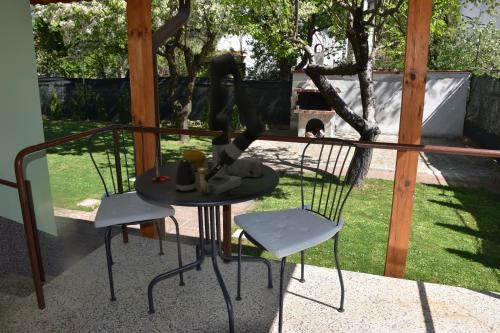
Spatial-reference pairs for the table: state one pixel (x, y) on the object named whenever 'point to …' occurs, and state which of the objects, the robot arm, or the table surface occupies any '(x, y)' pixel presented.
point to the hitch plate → (222, 183)
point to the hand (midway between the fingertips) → (207, 177)
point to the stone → (250, 167)
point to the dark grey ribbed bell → (185, 175)
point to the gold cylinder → (202, 180)
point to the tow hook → (157, 178)
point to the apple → (195, 158)
